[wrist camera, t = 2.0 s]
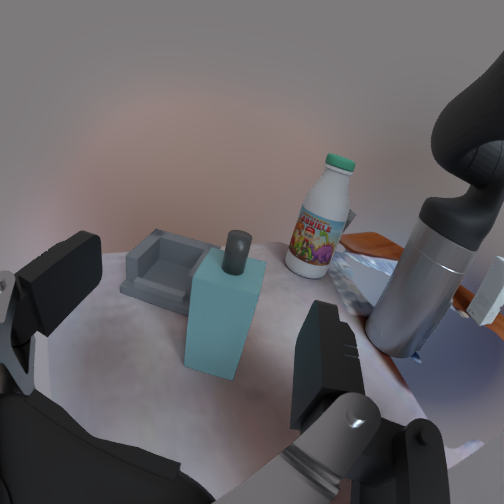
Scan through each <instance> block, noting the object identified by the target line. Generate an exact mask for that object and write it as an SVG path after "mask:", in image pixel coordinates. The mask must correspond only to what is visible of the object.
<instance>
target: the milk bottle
mask: <svg viewBox="0 0 504 504" xmlns="http://www.w3.org/2000/svg"><path fill="white" fill-rule="evenodd" d="M324 166H325V170H324V172H323V174H322V176H321V177H320V179H319V180H318V181H317V182H316V183H315V184H314V186H313V187H312V188H311V189H310V190H309V192H308V193H307V195H306V197H305V199H304V202H303V205H302V208H301V210H300V214H299V217H298V220H297V223H296V226H295V229H294V232H293V236H292V239H291V242H290V245H289V248H288V251H287V254H286V258H285V262H286V265H287V266H288V268H289V269H290V270H291V271H293V272H294V273H296V274H298V275H300V276H303V277H306V278H311V279H318V278H321V277H323V276H324V275H325V274H326V272H327V270H328V268H329V265H330V263H331V261H332V258H333V256H334V253H335V251H336V248H337V245H338V243H339V240H340V238H341V235H342V232H343V229H344V227H345V224H346V220H347V217H348V213H349V191H348V185H349V178H350V176H351V175H352V172H353V171H354V168H355V162H353V161H352V160H349V159H347V158H344V157H341V156H338V155H335V154H331V153H329V154H328V155H327V157H326V163H325V165H324Z"/></svg>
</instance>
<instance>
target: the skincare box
mask: <svg viewBox="0 0 504 504" xmlns="http://www.w3.org/2000/svg"><path fill="white" fill-rule="evenodd" d="M503 304H504V258H502V257H499V256H496V257H495V259H494V261H493V263H492V265H491V267H490V269H489V271H488V273H487V275H486V277H485V279H484V280H483V282H482V284H481V286H480V288H479V289H478V291H477V293H476V295H475V296H474V298H473V300H472V301H471V303H470V305H469V306H468V308H467V310H466V311H467V313H468V314H469V315H470V316H471V317H472V318H473V320H474V321H475V322H476V323H477V324H478V325H479V326H481V325H485V324H491V323H492V322H493V320H494V319H495V317H496V316H497V314H498V312H499V311H500V309H501V307H502V306H503Z"/></svg>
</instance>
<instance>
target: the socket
mask: <svg viewBox="0 0 504 504" xmlns="http://www.w3.org/2000/svg"><path fill="white" fill-rule="evenodd" d="M212 247H213V248H216V249H220V246H216V245H212V244H209V243H205V242H202V241H198V240H194V239H191V238H187V237H184V236H180V235H176V234H172V233H169V232H166V231H162V230H158V229H155V230H154V231H153V232H152V233H151V234H150V235H148V236H147V237H146V238H145V239H144V240H143V241H142V242H140V243H139V244H138V245H137V246H136V247H135V248H134V249H133V250H131V251H130V252H129V253H128V254H127V255H126V280H125V281H124V282H123V283H122V284H121V285H120V292H121V293H124V294H126V295H129V296H132V297H134V298H137V299H140V300H142V301H145V302H148V303H151V304H154V305H156V306H159V307H162V308H165V309H168V310H171V311H174V312H177V313H180V314H183V315H186V316H188V315H189V306H190V297H191V289H192V280H193V276H194V274H195V273H196V271H197V269H198V268H199V266H200V265H201V263H202V262H203V260H204V258H205V257H206V255H207V254H208V252H209V251H210V249H211V248H212Z"/></svg>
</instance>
